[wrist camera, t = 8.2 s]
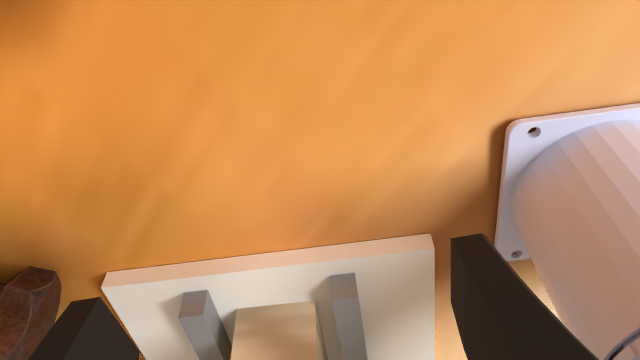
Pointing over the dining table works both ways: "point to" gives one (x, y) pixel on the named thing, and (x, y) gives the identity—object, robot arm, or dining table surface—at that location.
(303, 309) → the block
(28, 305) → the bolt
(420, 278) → the rail plate
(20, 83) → the dining table surface
